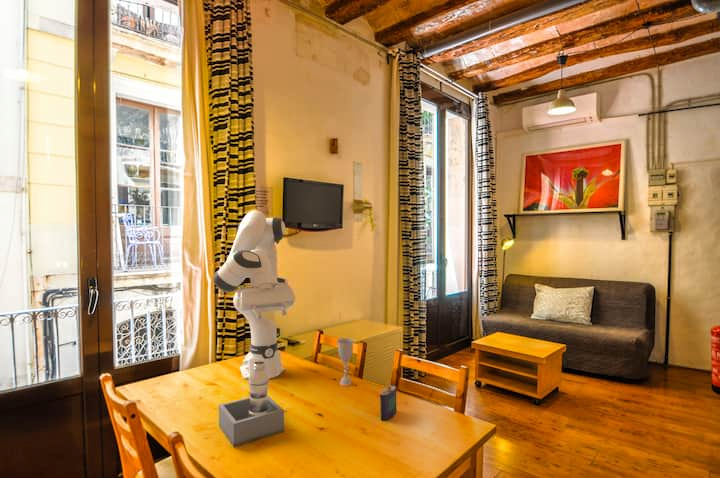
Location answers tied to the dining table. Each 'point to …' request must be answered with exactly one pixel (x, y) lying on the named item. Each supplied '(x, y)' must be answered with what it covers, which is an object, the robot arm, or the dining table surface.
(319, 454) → the dining table surface
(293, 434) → the dining table surface
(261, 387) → the plastic bottle
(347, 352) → the chalice
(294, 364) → the dining table surface
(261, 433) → the bin
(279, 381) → the dining table surface
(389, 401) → the hip flask
